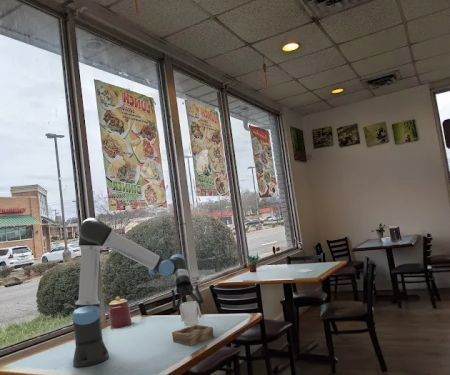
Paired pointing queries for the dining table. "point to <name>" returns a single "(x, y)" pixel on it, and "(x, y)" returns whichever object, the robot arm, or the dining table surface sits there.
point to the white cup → (190, 313)
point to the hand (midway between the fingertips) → (191, 317)
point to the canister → (119, 313)
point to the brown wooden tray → (192, 334)
